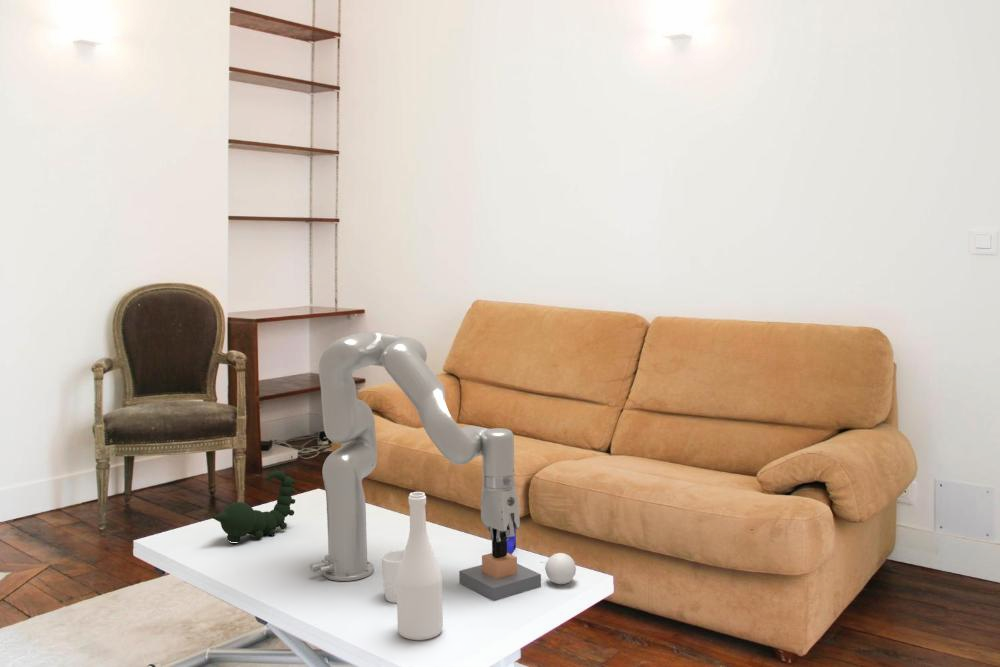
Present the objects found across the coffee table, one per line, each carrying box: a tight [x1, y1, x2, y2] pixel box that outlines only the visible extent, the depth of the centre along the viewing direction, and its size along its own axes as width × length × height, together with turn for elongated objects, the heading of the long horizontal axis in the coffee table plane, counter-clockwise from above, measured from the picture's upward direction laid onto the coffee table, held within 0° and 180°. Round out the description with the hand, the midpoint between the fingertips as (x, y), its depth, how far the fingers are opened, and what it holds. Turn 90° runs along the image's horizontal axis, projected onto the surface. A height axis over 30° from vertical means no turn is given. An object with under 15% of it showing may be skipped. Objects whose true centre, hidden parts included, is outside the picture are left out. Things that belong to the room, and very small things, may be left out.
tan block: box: [481, 552, 518, 579], centre depth 220 cm, size 6×6×7 cm
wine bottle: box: [396, 491, 444, 641], centre depth 193 cm, size 10×10×30 cm
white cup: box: [381, 549, 405, 604], centre depth 212 cm, size 8×8×10 cm
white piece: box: [541, 552, 577, 585], centre depth 221 cm, size 10×7×7 cm
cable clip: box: [507, 529, 517, 555], centre depth 241 cm, size 12×4×6 cm, turn 167°
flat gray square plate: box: [458, 563, 542, 601], centre depth 220 cm, size 14×14×3 cm
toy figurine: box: [211, 470, 296, 542], centre depth 256 cm, size 9×19×25 cm
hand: (499, 555), depth 219 cm, fingers closed
